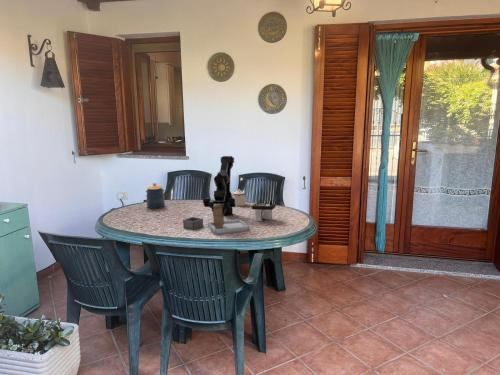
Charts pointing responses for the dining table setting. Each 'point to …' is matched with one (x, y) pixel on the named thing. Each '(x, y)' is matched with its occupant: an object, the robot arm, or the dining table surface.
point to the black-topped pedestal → (263, 210)
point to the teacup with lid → (239, 198)
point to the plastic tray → (229, 227)
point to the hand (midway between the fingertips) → (218, 215)
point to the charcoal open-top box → (193, 223)
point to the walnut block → (218, 215)
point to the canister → (155, 196)
